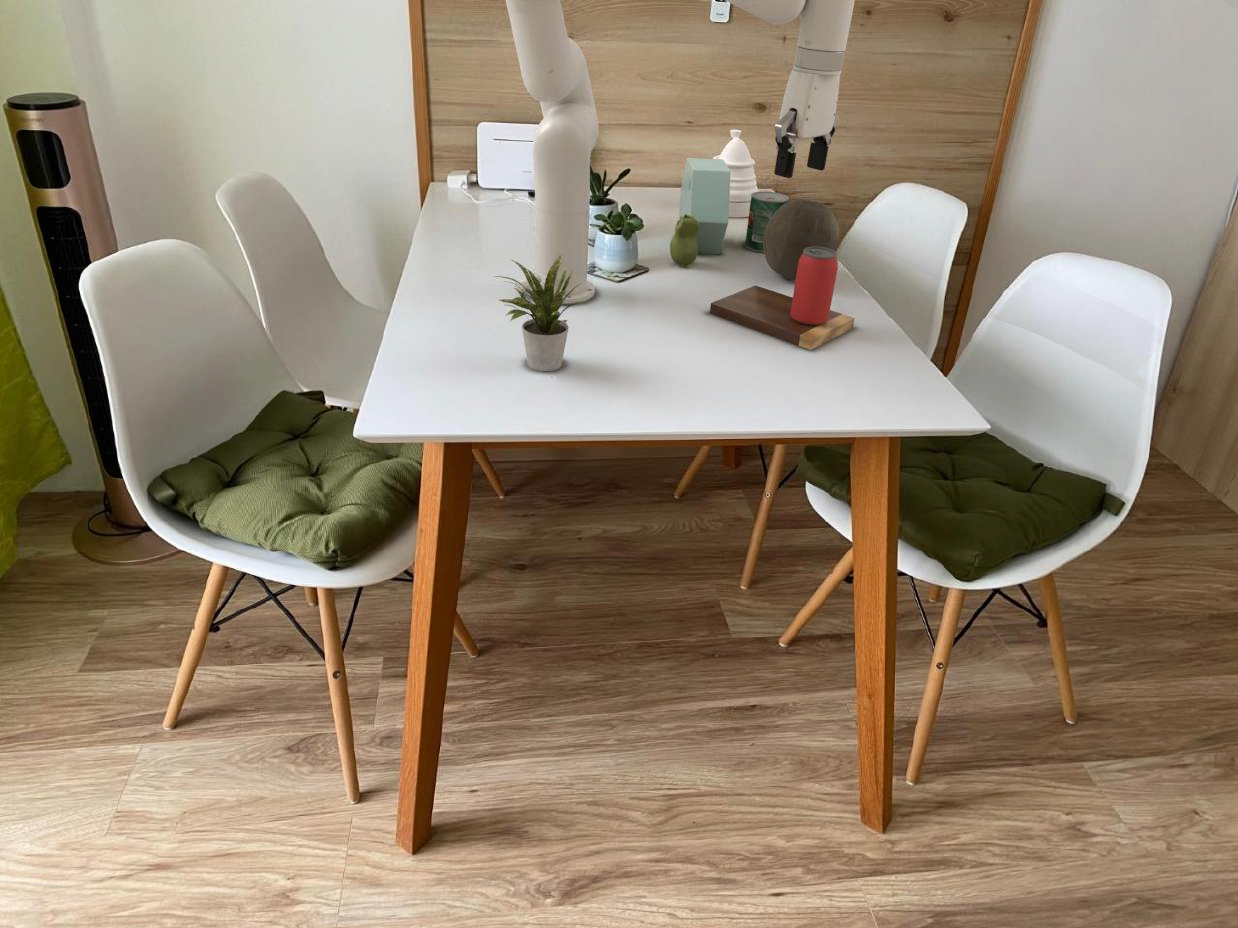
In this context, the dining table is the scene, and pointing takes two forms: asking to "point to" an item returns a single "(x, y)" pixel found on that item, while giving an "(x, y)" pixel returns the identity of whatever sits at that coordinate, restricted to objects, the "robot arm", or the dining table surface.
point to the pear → (685, 241)
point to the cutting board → (778, 317)
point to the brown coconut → (798, 234)
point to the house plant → (543, 318)
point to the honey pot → (739, 175)
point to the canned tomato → (761, 216)
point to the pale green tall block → (706, 200)
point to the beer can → (814, 286)
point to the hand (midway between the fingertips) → (799, 172)
